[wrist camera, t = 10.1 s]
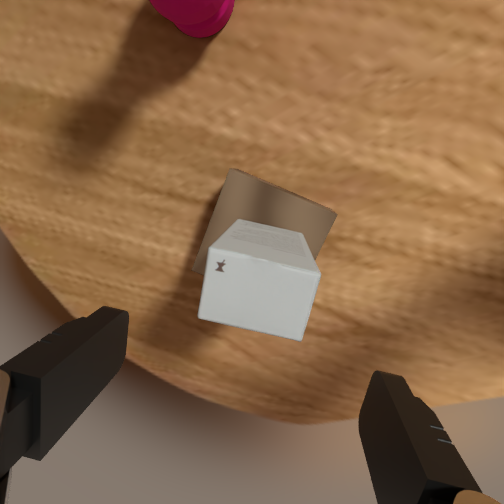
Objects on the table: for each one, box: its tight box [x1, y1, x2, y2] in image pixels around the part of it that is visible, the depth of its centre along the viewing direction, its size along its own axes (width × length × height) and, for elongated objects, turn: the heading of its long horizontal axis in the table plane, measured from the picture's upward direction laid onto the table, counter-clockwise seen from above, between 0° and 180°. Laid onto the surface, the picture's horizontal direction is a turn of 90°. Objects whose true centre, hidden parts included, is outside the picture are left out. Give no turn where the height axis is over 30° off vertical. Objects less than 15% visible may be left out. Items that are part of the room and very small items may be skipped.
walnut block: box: [192, 168, 338, 275], centre depth 30 cm, size 10×10×5 cm
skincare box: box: [198, 219, 321, 341], centre depth 22 cm, size 6×4×12 cm
